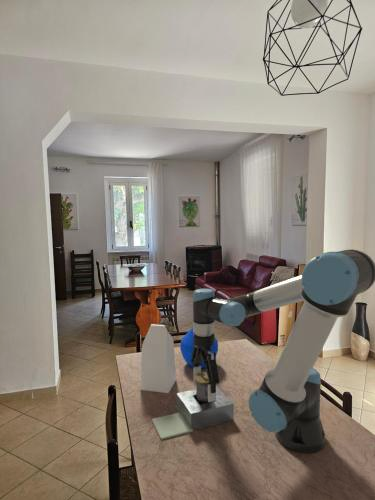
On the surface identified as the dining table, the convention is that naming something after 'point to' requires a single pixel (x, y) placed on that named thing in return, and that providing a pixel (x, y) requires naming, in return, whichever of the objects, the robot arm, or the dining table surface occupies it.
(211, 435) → the dining table surface
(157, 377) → the milk
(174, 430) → the mat
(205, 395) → the grey and gold cylinder
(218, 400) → the housing
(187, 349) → the vase
